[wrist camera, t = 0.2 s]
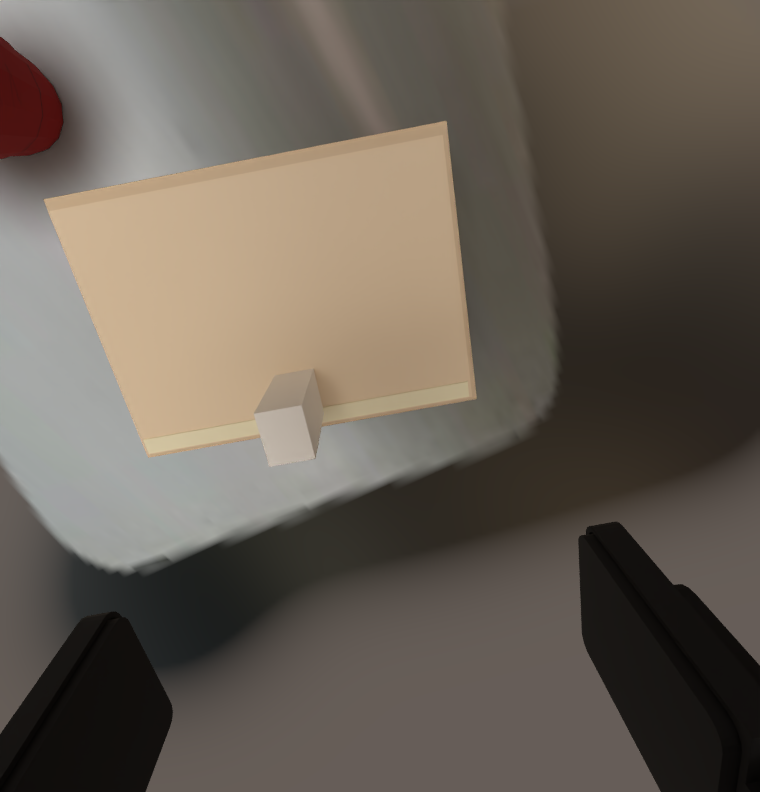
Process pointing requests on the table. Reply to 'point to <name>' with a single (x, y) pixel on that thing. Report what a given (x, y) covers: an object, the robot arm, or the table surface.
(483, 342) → the table surface
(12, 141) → the plastic cup
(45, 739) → the robot arm
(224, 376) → the flap
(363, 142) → the carton
